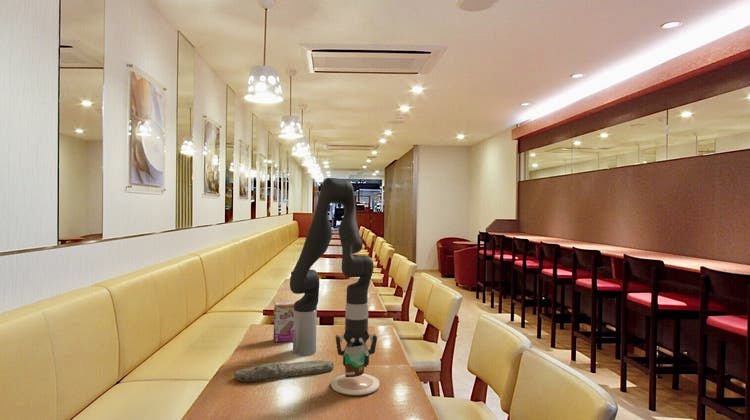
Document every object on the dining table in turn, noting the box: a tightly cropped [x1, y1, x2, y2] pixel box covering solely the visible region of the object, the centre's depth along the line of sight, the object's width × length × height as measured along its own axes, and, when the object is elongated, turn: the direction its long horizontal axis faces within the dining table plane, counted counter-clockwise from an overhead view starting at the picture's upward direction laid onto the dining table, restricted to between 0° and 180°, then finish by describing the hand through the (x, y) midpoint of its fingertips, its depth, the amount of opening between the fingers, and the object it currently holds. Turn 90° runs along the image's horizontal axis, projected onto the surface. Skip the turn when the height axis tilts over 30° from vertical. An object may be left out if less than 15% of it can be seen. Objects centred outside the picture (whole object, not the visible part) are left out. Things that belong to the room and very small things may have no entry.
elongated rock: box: [234, 359, 335, 382], centre depth 157 cm, size 35×5×10 cm
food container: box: [344, 341, 369, 377], centre depth 147 cm, size 12×6×10 cm, turn 169°
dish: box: [330, 373, 380, 396], centre depth 147 cm, size 16×16×2 cm
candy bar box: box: [272, 301, 296, 343], centre depth 195 cm, size 11×5×16 cm, turn 106°
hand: (355, 366), depth 147 cm, fingers closed on food container, 5 cm apart
